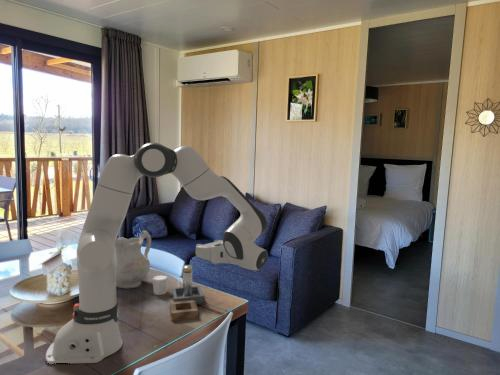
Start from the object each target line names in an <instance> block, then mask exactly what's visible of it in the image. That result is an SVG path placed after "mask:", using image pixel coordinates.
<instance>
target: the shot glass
mask: <svg viewBox="0 0 500 375" xmlns="http://www.w3.org/2000/svg"><path fill="white" fill-rule="evenodd" d="M168 278H169V276H167V275H165V274H157V275H154V276H152V278H151V281H152V288H153V290H152V291H153V294H154V295H157V296H160V295H161V296H162V295H165V294H167V291H168V281H169V279H168Z"/></svg>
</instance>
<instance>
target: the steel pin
mask: <svg viewBox="0 0 500 375" xmlns="http://www.w3.org/2000/svg"><path fill="white" fill-rule="evenodd" d="M192 286H193V265H191V264H185V265H182V287H183V297H187V296H192Z"/></svg>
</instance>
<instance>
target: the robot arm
mask: <svg viewBox="0 0 500 375" xmlns="http://www.w3.org/2000/svg"><path fill="white" fill-rule="evenodd" d="M168 174H171V175H173V176H174V177H175V178H176V180H178V182H179V183H180V185H181V187H182V188H183V189H184V190H185V192H186V193H187V195H189V196H190V198H192V199H195V200H197V201H207V200H210V199H214V198H218V197H223V198H225V199H227V200H228V201H229V203H231V204H232V205H233V207H234V208H236V210H238V211H239V213H240V216H239V217H238V219H236V220H235V222H233V223H232V224H231V225H230V226H229V227H228V228H227V229H226V230H225V231H224V232H223V234H222V240H221V239H215V240H213V242H210V243H209V242H208V243H205V244H202V243H197V244H195V256H196V257H198V258H200V259H202V260H205V261H208V262H209V261H210V262H211V264H215V265H216V264H230V265H235V266H239V267H241V268H243V269H247V270H252V271H261V269H263V267H264V266H265V265H266V263H267V261H268V258H269V253H268V250H267V249H264V248H263V247H261V246H258V245H257V244H256V243H255V241H256V240H257V238H259V237H260V236H261V235H262V234H263V233H264V232H265V231H267V228H268V220H267V217H266V215H265V214H264V212H263V211H262V210H261V209H259V208H257V207H256V205H254V204H253V203H252V201H250V199H248V197H246V195H245V194H244V193H242V191H241V190H240V189H239V188H238V187H237V186H236V184H234V182H232V181H231V180H230V179H229V178H228V177H226V176H221V175H218V174H217V173H215V172H214V171H213V170H212V169H211V167H210V166H209V165H208V163H207V162H206V161H205V159H204V158H203V157H202V156H201V154H199V153H198V152H197V151H196V150H195V149H194V147H192V146H189V145H183V146H182V145H181V146H179V147H177V148H176V149H174V150H173V149H171V148H169V147H166V146H165V145H163V144H161V143H158V142H147V143H145V144H143V145H141V146H140V147H139V148H138V149H137V151H136V152H135V153H134V154H133V155H127V154H121V153H119V154H117V153H116V154H113V155H112V156H110V157H109V158H108V160H107V162H106V163H105V165H104V167H103V168H102V170H101V173H100V176H99V178H98V181H97V184H96V187H95V190H94V194H93V196H92V198H91V203H90V206H89V209H88V212H87V215H86V217H85V219H84V220H85V221H84V224H83V227H82V230H81V233H80V235H79V239H78V243H77V248H76V265H77V267H76V268H77V277H78V278H77V279H78V298H79V300H78V302H79V303H75V304H74V305H73V308H72V309H73V310H72V319H71V320H69V321H68V322H67V323H65V324H64V325H63V326H62V327H60V328H59V330H58V331H57V333H56V334H55V337H54V340H53V342H52V343H51V344H50V345H49V347H48V348H47V349H46V352H45V362H46V361H47V362H46V364H48V363H49V364H48V365H57V364H56V363H68V364H69V363H70V364H71V365H72V364H95V363H100V362H101V361H102V360H103V359H105V358H106V357H109V356H111V355H113V354H115V353H117V351H119V350H120V349H121V348H122V346H123V343H124V342H123V339H122V337H121V336H122V335H121V332H120V329H119V322H118V321H119V313H120V312H119V303H118V301H117V287H116V283H117V282H116V246H115V243H116V239H117V238H118V235H119V233H120V230H121V228H122V225H123V223H124V221H125V218H126V217H127V213H128V210H129V207H130V205H131V204H130V203H131V202H132V201H131V200H132V197H133V194H134V191H135V188H136V186H137V182H138V180H140V178H141V177H143V176H145V177H148V178H159V177H160V178H161V177H162V176H166V175H168ZM54 363H55V364H54ZM68 364H67V365H68Z"/></svg>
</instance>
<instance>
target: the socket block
mask: <svg viewBox="0 0 500 375" xmlns="http://www.w3.org/2000/svg"><path fill="white" fill-rule="evenodd" d="M169 313H170V318H171V319H170V320H171V322H173V321H183V320H191V319H192V320H193V319H199V310H198V305H196V303H195V300H190V301H180V302H173V301H172V302H169Z"/></svg>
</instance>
